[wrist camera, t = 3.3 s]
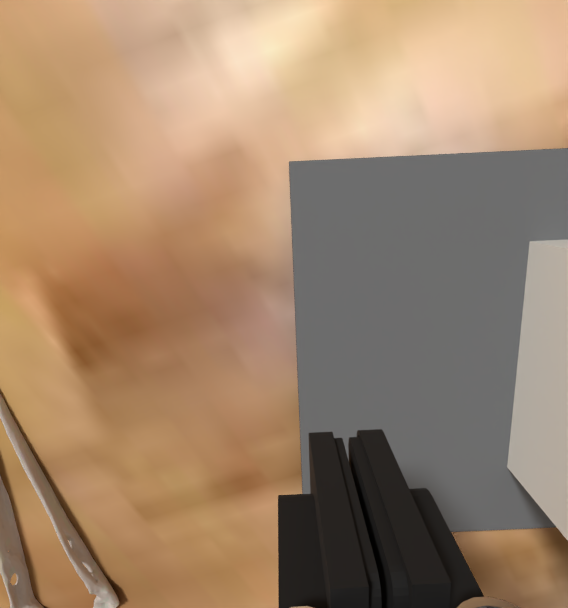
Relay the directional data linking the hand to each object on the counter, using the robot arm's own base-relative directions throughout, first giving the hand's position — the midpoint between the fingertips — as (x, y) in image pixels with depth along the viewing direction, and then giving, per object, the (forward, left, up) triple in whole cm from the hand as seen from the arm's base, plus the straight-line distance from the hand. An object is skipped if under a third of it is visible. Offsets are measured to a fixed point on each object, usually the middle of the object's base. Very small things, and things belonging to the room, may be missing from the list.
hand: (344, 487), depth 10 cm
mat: (-10, 0, -7) cm, 12 cm away
